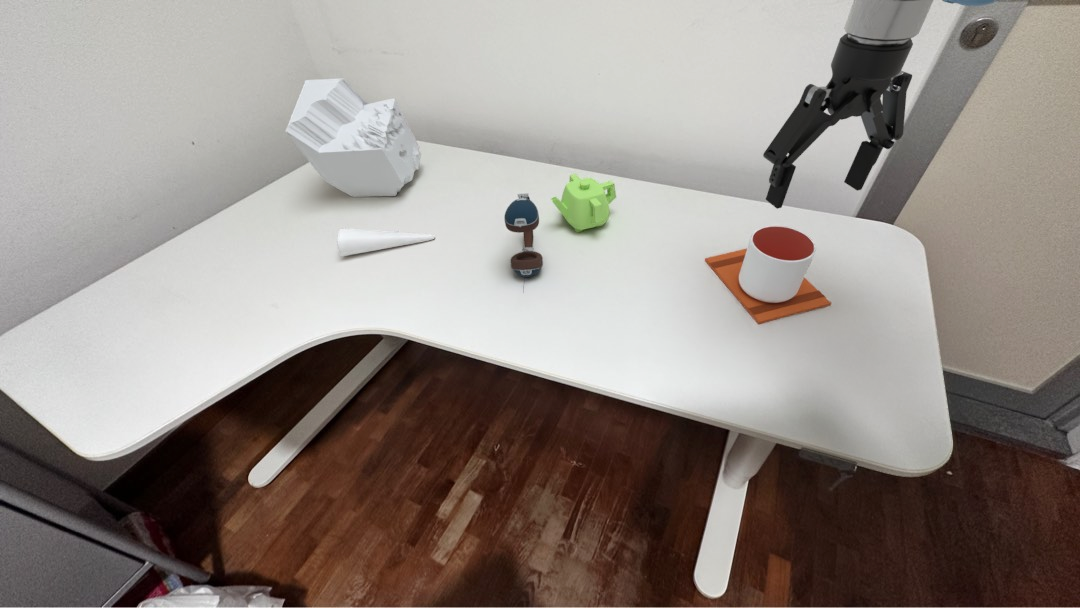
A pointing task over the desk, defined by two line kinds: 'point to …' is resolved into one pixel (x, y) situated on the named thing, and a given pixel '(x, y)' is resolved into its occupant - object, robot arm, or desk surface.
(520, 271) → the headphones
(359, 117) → the white faceted rock
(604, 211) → the teapot
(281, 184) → the desk surface
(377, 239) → the long cone
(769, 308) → the towel
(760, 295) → the cup
